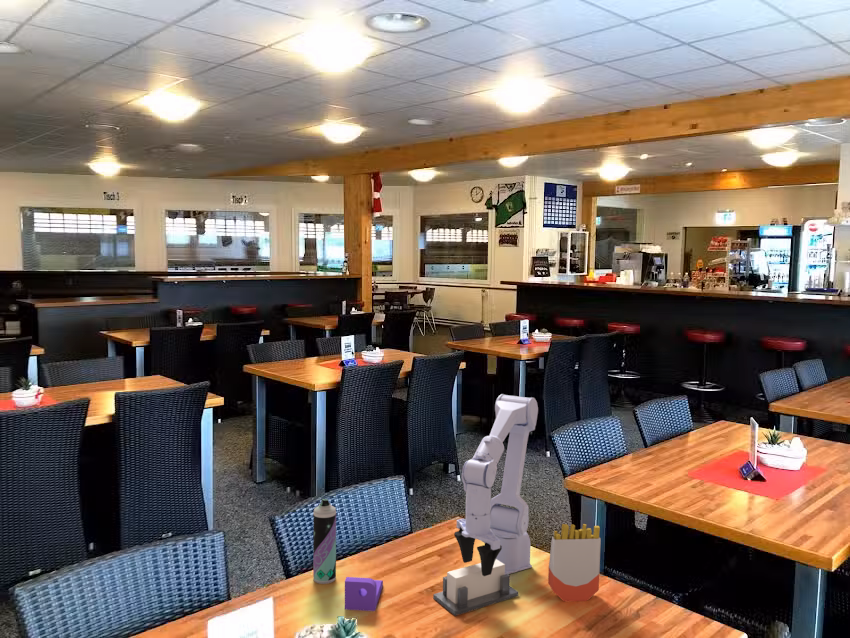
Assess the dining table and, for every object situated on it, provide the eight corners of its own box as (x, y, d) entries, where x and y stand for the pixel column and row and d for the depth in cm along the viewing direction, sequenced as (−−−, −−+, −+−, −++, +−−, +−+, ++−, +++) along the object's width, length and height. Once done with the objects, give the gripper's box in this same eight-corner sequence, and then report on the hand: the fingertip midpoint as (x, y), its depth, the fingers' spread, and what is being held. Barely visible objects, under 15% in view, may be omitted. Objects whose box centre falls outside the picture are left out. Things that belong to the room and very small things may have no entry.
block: (495, 582, 161) (495, 558, 161) (504, 589, 158) (504, 564, 158) (446, 597, 154) (447, 572, 154) (455, 603, 151) (455, 578, 151)
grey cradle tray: (495, 580, 165) (495, 560, 164) (518, 595, 157) (519, 575, 157) (433, 598, 155) (433, 577, 155) (454, 616, 148) (455, 594, 147)
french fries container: (547, 592, 159) (549, 518, 158) (591, 590, 160) (594, 517, 159) (552, 601, 155) (555, 526, 153) (598, 600, 156) (601, 525, 154)
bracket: (374, 612, 149) (375, 582, 149) (344, 610, 150) (344, 581, 149) (382, 586, 161) (383, 559, 161) (354, 585, 162) (354, 557, 161)
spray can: (309, 581, 163) (309, 501, 161) (320, 571, 168) (320, 494, 166) (328, 585, 161) (329, 504, 159) (339, 575, 166) (340, 497, 164)
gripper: (446, 504, 159) (445, 559, 160) (482, 525, 146) (481, 585, 148) (470, 499, 162) (469, 553, 164) (508, 519, 150) (506, 577, 151)
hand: (476, 567), depth 156 cm, fingers open, 7 cm apart
